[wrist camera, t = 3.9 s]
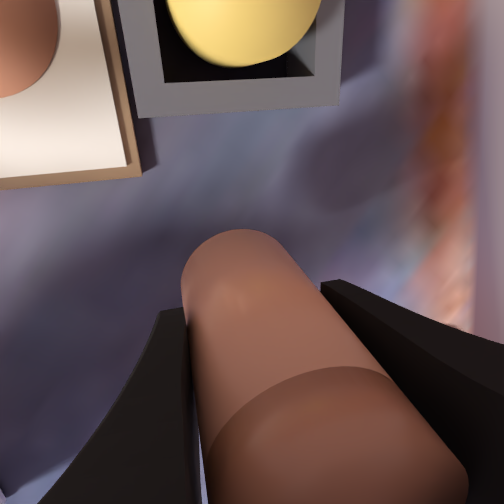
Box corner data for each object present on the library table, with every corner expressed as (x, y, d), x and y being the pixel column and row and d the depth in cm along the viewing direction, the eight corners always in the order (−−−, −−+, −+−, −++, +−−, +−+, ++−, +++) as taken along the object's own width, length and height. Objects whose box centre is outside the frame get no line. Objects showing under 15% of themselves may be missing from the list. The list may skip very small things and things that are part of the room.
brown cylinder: (292, 318, 13) (440, 565, 6) (188, 338, 13) (229, 648, 6) (292, 221, 12) (497, 416, 5) (172, 237, 11) (203, 502, 4)
